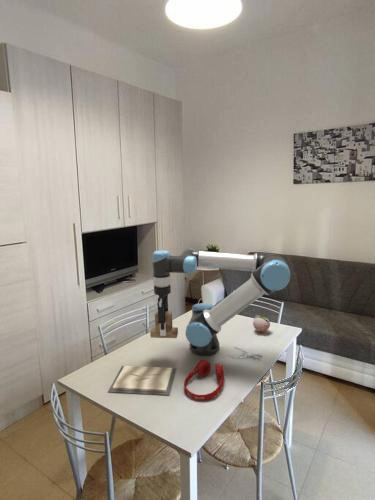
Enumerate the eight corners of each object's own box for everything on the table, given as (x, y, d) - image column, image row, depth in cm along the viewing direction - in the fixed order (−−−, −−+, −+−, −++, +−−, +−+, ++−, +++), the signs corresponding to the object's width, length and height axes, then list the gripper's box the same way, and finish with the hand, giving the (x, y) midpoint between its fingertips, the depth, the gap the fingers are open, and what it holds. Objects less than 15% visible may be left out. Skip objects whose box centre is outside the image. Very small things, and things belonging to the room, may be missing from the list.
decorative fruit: (250, 333, 181) (250, 316, 179) (255, 327, 187) (255, 311, 185) (266, 337, 176) (267, 319, 174) (271, 331, 183) (272, 314, 180)
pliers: (234, 345, 166) (264, 351, 159) (234, 347, 166) (264, 354, 159) (227, 353, 157) (258, 361, 150) (227, 356, 158) (257, 364, 151)
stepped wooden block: (177, 333, 155) (177, 311, 153) (176, 338, 150) (175, 315, 148) (152, 332, 156) (151, 311, 154) (150, 337, 152) (149, 315, 149)
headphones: (199, 368, 148) (178, 399, 131) (198, 354, 145) (176, 384, 129) (231, 376, 141) (212, 410, 124) (230, 362, 139) (211, 395, 122)
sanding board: (176, 368, 148) (176, 365, 148) (169, 395, 129) (169, 392, 129) (122, 366, 151) (122, 363, 150) (107, 392, 132) (107, 389, 132)
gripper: (158, 279, 158) (160, 324, 162) (149, 291, 140) (152, 341, 145) (173, 279, 157) (175, 324, 161) (166, 291, 139) (169, 342, 144)
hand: (164, 332), depth 153 cm, fingers closed on stepped wooden block, 5 cm apart
